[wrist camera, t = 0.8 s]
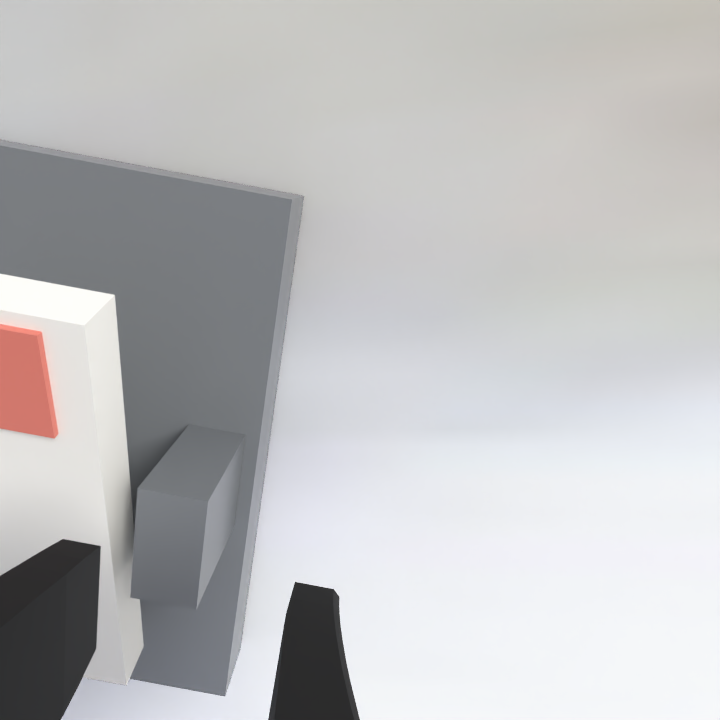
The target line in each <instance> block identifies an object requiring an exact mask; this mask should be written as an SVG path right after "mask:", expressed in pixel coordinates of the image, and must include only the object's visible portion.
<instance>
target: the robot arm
mask: <svg viewBox="0 0 720 720" xmlns="http://www.w3.org/2000/svg"><path fill="white" fill-rule="evenodd" d="M100 554H101V546H98V545H93V544H87V543H82V542H77V541H71V540H66V539H62V540H60V541H58V542H57V543H55V544H53V545H51V546H49V547H48V548H46V549H44V550H42V551H41V552H39V553H37V554H36V555H34V556H32V557H31V558H29V559H27V560H26V561H24V562H22V563H21V564H19V565H17V566H16V567H14V568H12V569H11V570H9V571H7V572H6V573H4V574H2V575H1V576H0V720H61V718H62V716H63V715H64V713H65V711H66V709H67V707H68V705H69V703H70V701H71V699H72V697H73V695H74V693H75V691H76V689H77V687H78V685H79V683H80V681H81V679H82V677H83V675H84V673H85V671H86V669H87V667H88V665H89V663H90V661H91V659H92V657H93V655H94V653H95V651H96V643H97V621H98V599H99V576H100ZM268 720H360V719H359V715H358V711H357V707H356V703H355V699H354V695H353V691H352V687H351V682H350V678H349V673H348V669H347V664H346V658H345V653H344V647H343V641H342V634H341V627H340V616H339V596H338V595H337V593H336V592H335V591H334V589H329V588H324V587H319V586H313V585H308V584H303V583H297V582H295V585H294V588H293V591H292V595H291V598H290V602H289V606H288V609H287V613H286V618H285V624H284V630H283V636H282V642H281V648H280V654H279V660H278V666H277V672H276V678H275V684H274V689H273V695H272V701H271V707H270V713H269V719H268Z"/></svg>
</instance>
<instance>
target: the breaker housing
mask: <svg viewBox="0 0 720 720" xmlns="http://www.w3.org/2000/svg"><path fill="white" fill-rule="evenodd" d="M303 200H304V196H302V195H296V194H291V193H286V192H280V191H275V190H269V189H264V188H259V187H253V186H248V185H242V184H237V183H232V182H226V181H221V180H215V179H210V178H205V177H199V176H194V175H188V174H183V173H178V172H172V171H167V170H161V169H156V168H150V167H145V166H140V165H134V164H129V163H123V162H118V161H113V160H107V159H102V158H96V157H91V156H86V155H80V154H75V153H69V152H64V151H59V150H53V149H48V148H42V147H37V146H32V145H26V144H21V143H15V142H10V141H5V140H0V274H5V275H10V276H16V277H21V278H26V279H32V280H37V281H43V282H48V283H53V284H59V285H64V286H70V287H75V288H80V289H86V290H91V291H97V292H102V293H107V294H113V295H115V303H116V316H117V328H118V340H119V352H120V364H121V376H122V388H123V401H124V413H125V425H126V437H127V449H128V461H129V473H130V486H131V498H132V510H133V522H134V548H133V564H132V579H131V594H130V598H135V599H140V607H141V619H142V631H143V643H144V647H143V649H142V651H141V654H140V656H139V658H138V661H137V663H136V665H135V667H134V670H133V672H132V674H131V677H130V679H134V680H140V681H145V682H151V683H156V684H161V685H167V686H172V687H177V688H183V689H188V690H194V691H199V692H204V693H210V694H215V695H220V696H225V695H226V692H227V689H228V686H229V682H230V679H231V676H232V673H233V670H234V667H235V664H236V661H237V658H238V655H239V652H240V647H241V640H242V633H243V626H244V619H245V612H246V605H247V598H248V590H249V583H250V576H251V569H252V562H253V555H254V548H255V541H256V534H257V527H258V519H259V512H260V505H261V498H262V491H263V484H264V477H265V470H266V463H267V456H268V448H269V441H270V434H271V427H272V420H273V413H274V406H275V399H276V392H277V384H278V377H279V370H280V363H281V356H282V349H283V342H284V335H285V328H286V321H287V313H288V306H289V299H290V292H291V285H292V278H293V271H294V264H295V257H296V250H297V242H298V235H299V228H300V221H301V214H302V207H303Z"/></svg>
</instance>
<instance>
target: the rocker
mask: <svg viewBox="0 0 720 720" xmlns="http://www.w3.org/2000/svg"><path fill="white" fill-rule="evenodd" d="M62 539H66V540H71V541H77V542H82V543H87V544H93V545H98V546H101V554H100V576H99V599H98V621H97V643H96V651H95V653H94V655H93V657H92V659H91V661H90V663H89V665H88V667H87V669H86V671H85V673H84V675H83V678H89V679H94V680H99V681H105V682H110V683H115V684H121V685H126V686H127V684H128V681H129V679H130V677H131V674H132V672H133V670H134V667H135V665H136V663H137V661H138V658H139V656H140V654H141V651H142V649H143V647H144V643H143V631H142V619H141V607H140V599H135V598H130V594H131V579H132V564H133V548H134V522H133V510H132V498H131V486H130V473H129V461H128V449H127V437H126V425H125V413H124V401H123V388H122V376H121V364H120V352H119V340H118V328H117V316H116V303H115V295H113V294H107V293H102V292H97V291H91V290H86V289H80V288H75V287H70V286H64V285H59V284H53V283H48V282H43V281H37V280H32V279H26V278H21V277H16V276H10V275H5V274H0V576H1V575H2V574H4V573H6V572H7V571H9V570H11V569H12V568H14V567H16V566H17V565H19V564H21V563H22V562H24V561H26V560H27V559H29V558H31V557H32V556H34V555H36V554H37V553H39V552H41V551H42V550H44V549H46V548H48V547H49V546H51V545H53V544H55V543H57V542H58V541H60V540H62Z"/></svg>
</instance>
